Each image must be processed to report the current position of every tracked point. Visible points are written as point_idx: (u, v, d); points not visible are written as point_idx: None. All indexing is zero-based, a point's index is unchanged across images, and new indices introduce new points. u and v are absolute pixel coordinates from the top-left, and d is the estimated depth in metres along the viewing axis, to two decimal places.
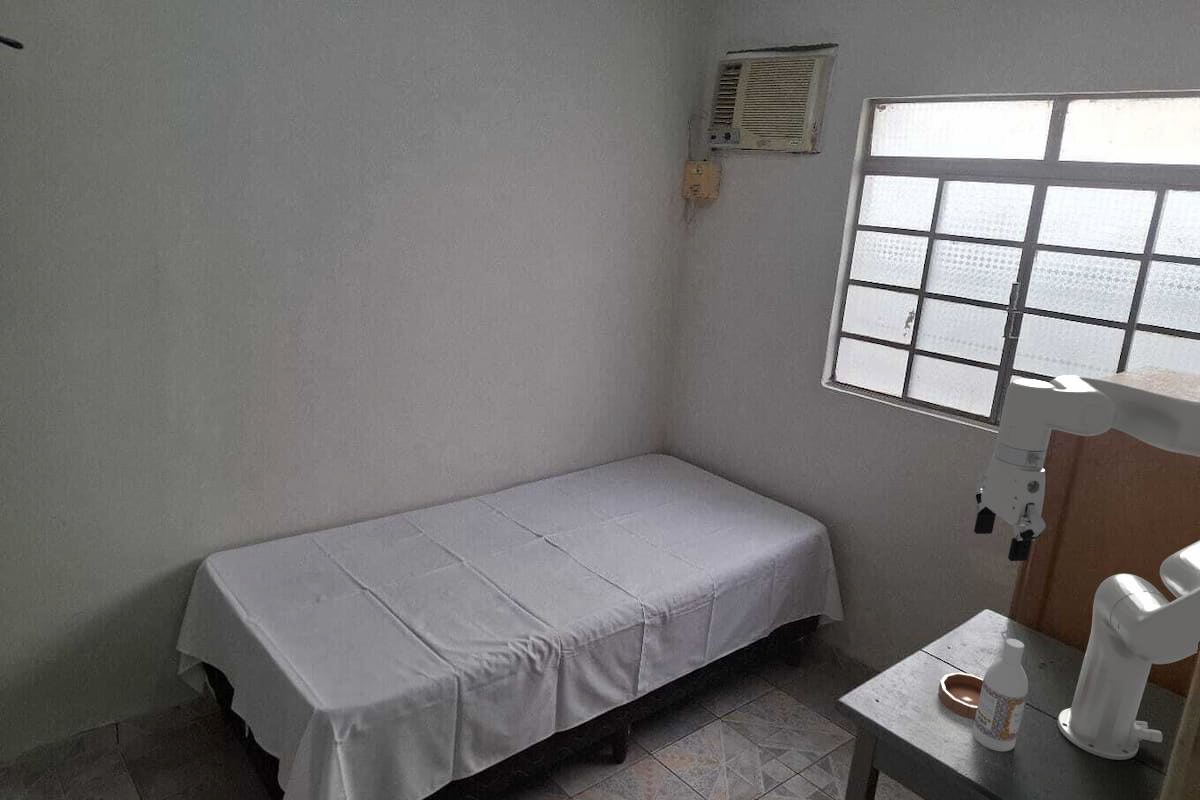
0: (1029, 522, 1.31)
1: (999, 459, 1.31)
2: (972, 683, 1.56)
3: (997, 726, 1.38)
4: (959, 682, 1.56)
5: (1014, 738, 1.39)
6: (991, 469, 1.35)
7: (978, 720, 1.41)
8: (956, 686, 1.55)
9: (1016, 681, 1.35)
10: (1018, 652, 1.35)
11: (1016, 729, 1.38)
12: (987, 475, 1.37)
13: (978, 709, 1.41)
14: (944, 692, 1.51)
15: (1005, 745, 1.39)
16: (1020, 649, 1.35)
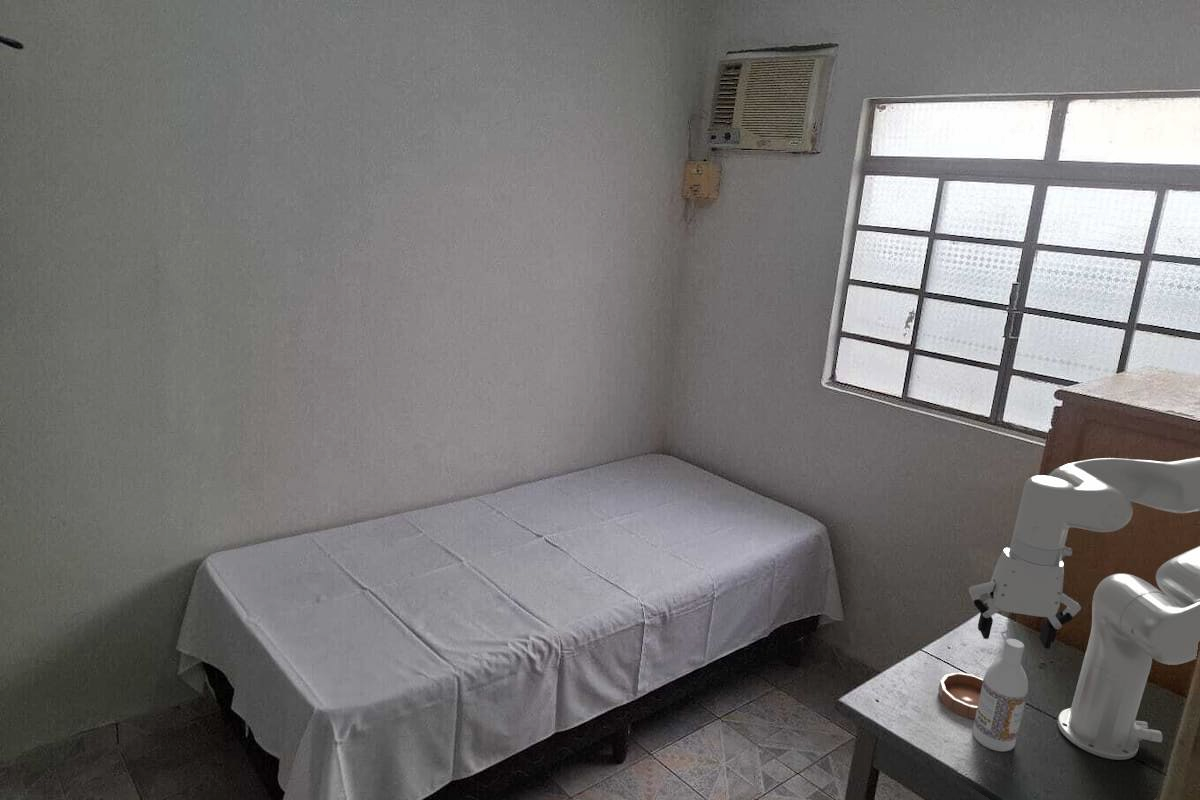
0: None
1: (1044, 565, 1.28)
2: (972, 683, 1.56)
3: (997, 726, 1.38)
4: (959, 682, 1.56)
5: (1014, 738, 1.39)
6: (1016, 574, 1.31)
7: (978, 720, 1.41)
8: (956, 686, 1.55)
9: (1016, 681, 1.35)
10: (1018, 652, 1.35)
11: (1016, 729, 1.38)
12: (1007, 582, 1.31)
13: (978, 709, 1.41)
14: (944, 692, 1.51)
15: (1005, 745, 1.39)
16: (1020, 649, 1.35)
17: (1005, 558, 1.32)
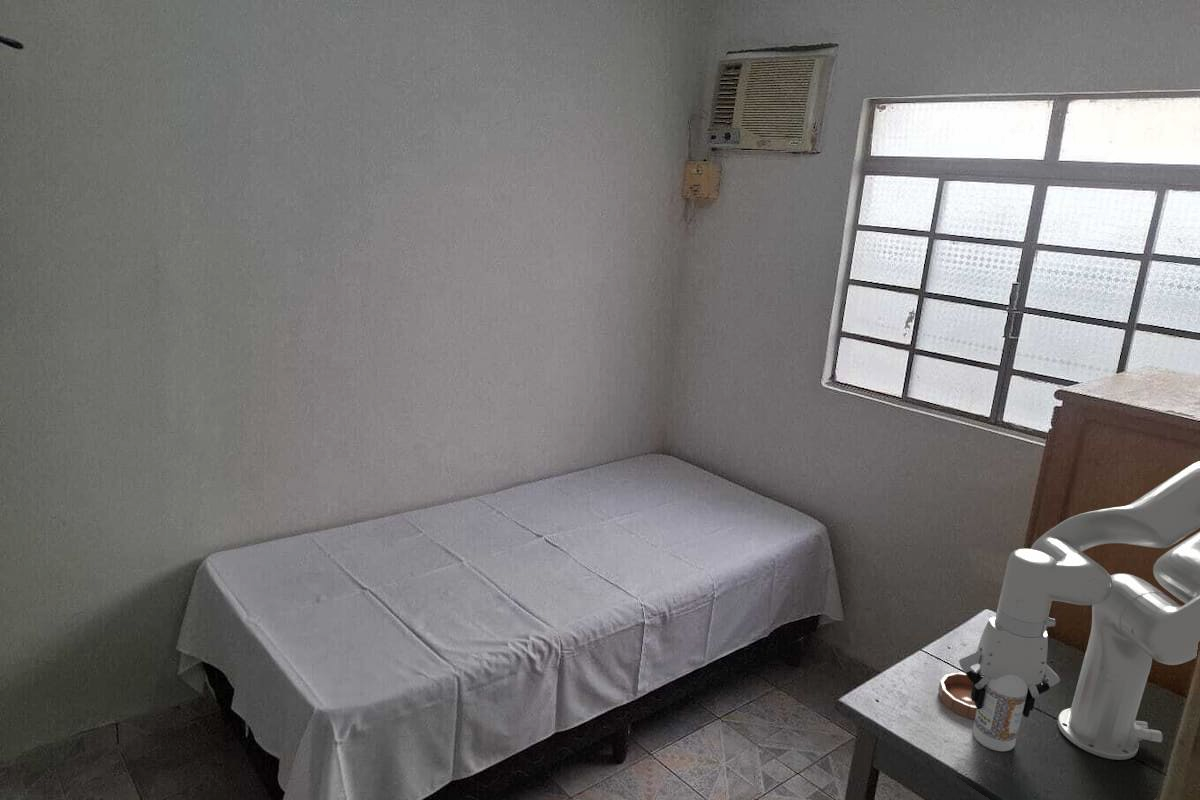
0: None
1: (1028, 637, 1.32)
2: (972, 683, 1.56)
3: (997, 726, 1.38)
4: (959, 682, 1.56)
5: (1014, 738, 1.39)
6: (1001, 645, 1.35)
7: (978, 720, 1.41)
8: (956, 686, 1.55)
9: (1016, 681, 1.35)
10: None
11: (1016, 729, 1.38)
12: (993, 651, 1.35)
13: (978, 709, 1.41)
14: (944, 692, 1.51)
15: (1005, 745, 1.39)
16: None
17: (991, 628, 1.36)
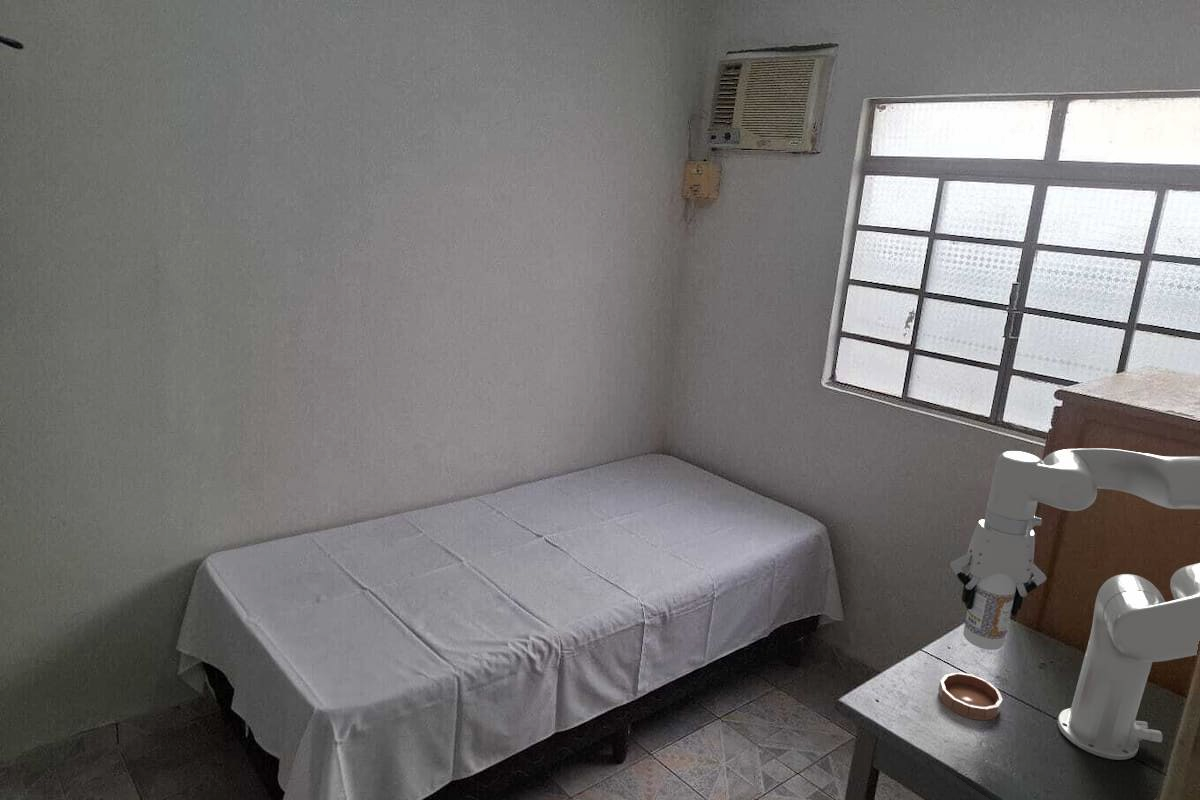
0: None
1: (1016, 534, 1.37)
2: (972, 683, 1.56)
3: (987, 625, 1.43)
4: (959, 682, 1.56)
5: (1003, 636, 1.44)
6: (990, 544, 1.40)
7: (968, 620, 1.46)
8: (956, 686, 1.55)
9: (1004, 579, 1.41)
10: None
11: (1005, 627, 1.44)
12: (983, 551, 1.41)
13: (968, 610, 1.46)
14: (944, 692, 1.51)
15: (994, 643, 1.44)
16: None
17: (980, 529, 1.41)
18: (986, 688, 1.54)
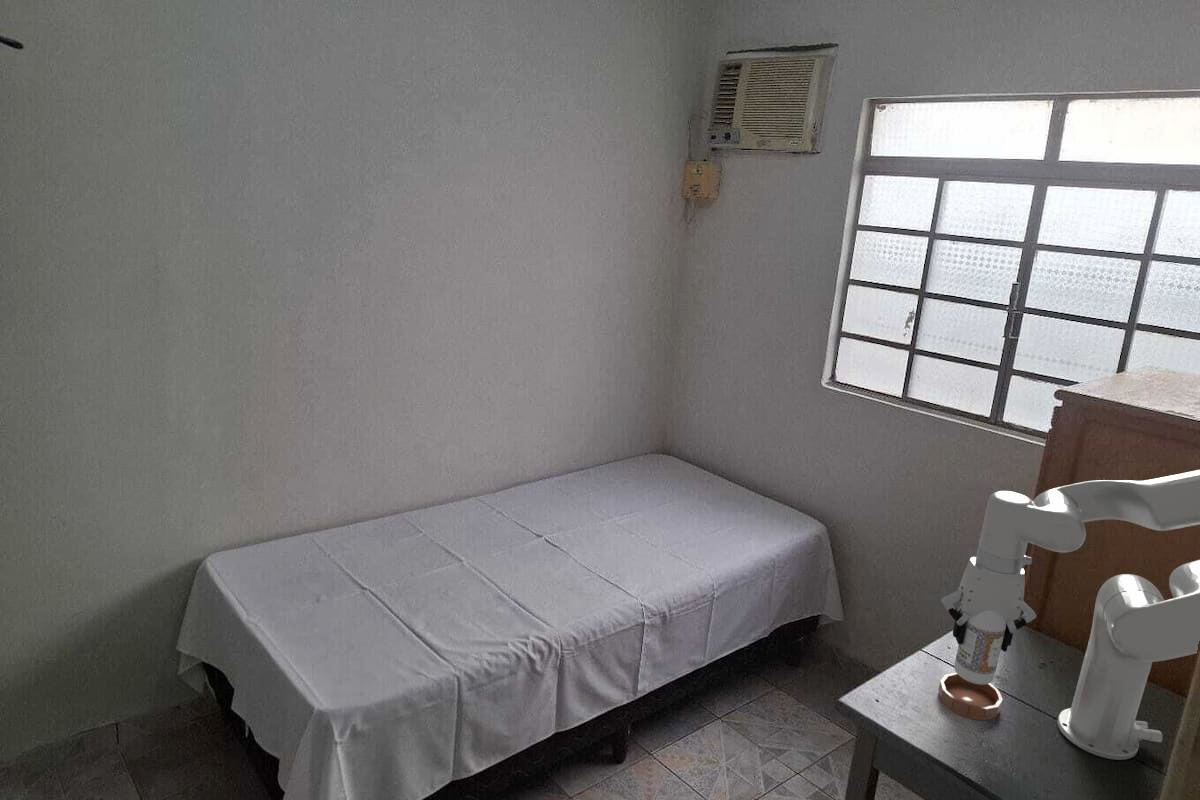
0: None
1: (1006, 573, 1.40)
2: (972, 683, 1.56)
3: (977, 660, 1.46)
4: (959, 682, 1.56)
5: (993, 672, 1.47)
6: (981, 582, 1.42)
7: (959, 655, 1.49)
8: (956, 686, 1.55)
9: (995, 616, 1.43)
10: None
11: (995, 663, 1.46)
12: (973, 588, 1.43)
13: (959, 645, 1.49)
14: (944, 692, 1.51)
15: (984, 678, 1.47)
16: None
17: (971, 567, 1.44)
18: (986, 688, 1.54)
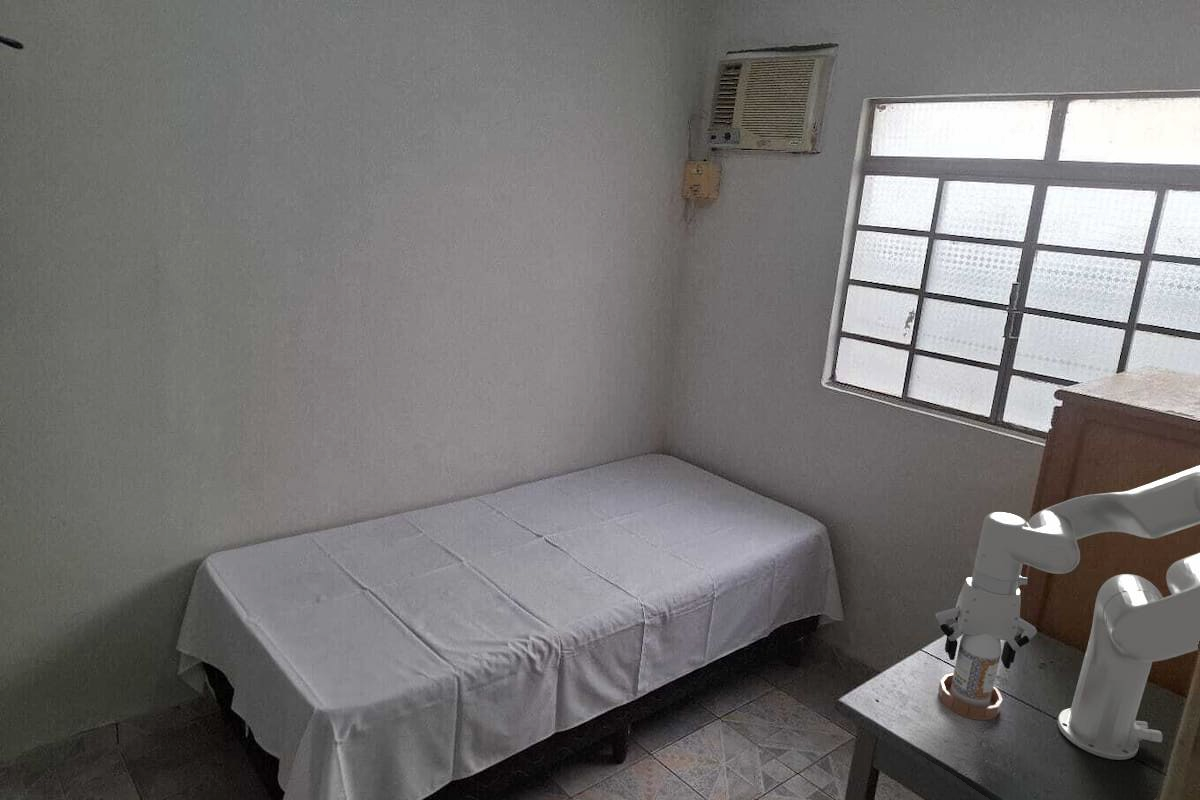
0: None
1: (1001, 594, 1.41)
2: None
3: (972, 686, 1.47)
4: None
5: (988, 697, 1.48)
6: (977, 602, 1.44)
7: (955, 680, 1.50)
8: None
9: (989, 643, 1.45)
10: None
11: (990, 689, 1.48)
12: (970, 609, 1.44)
13: (955, 670, 1.51)
14: (944, 692, 1.51)
15: (980, 703, 1.48)
16: None
17: (967, 587, 1.45)
18: None
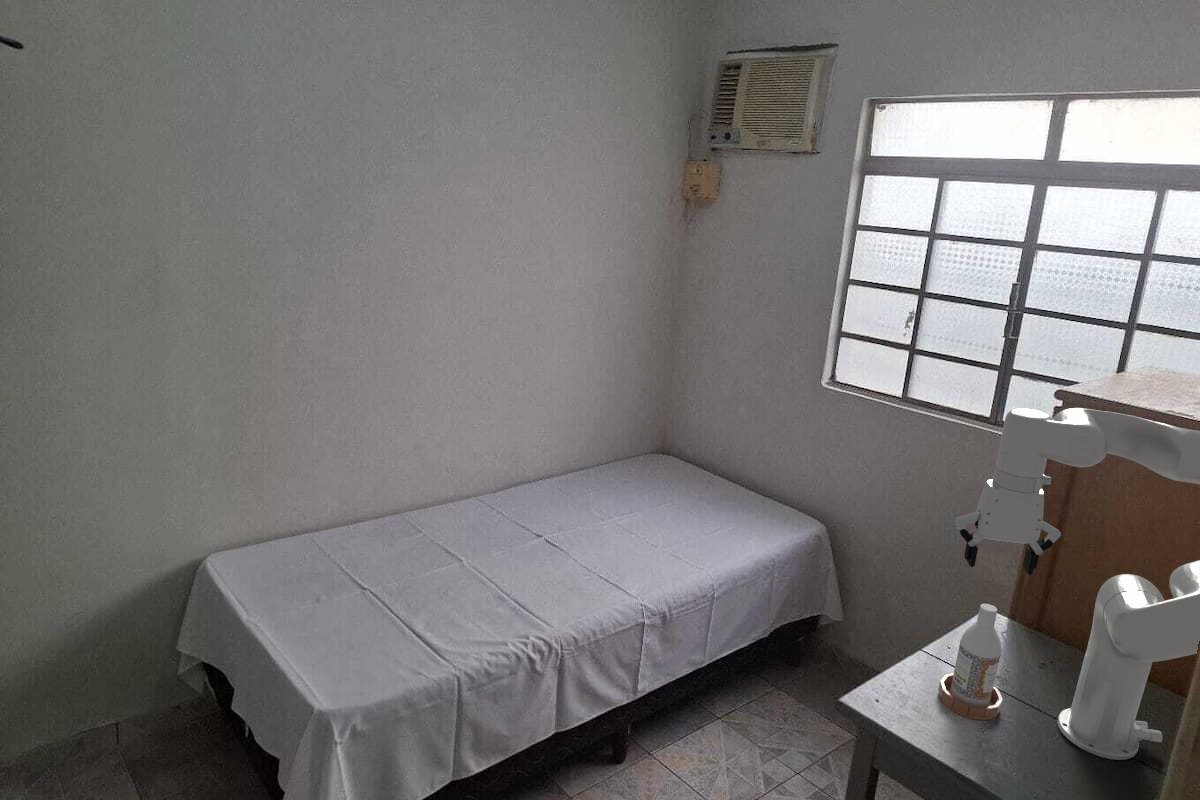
0: None
1: (1024, 492, 1.35)
2: None
3: (972, 686, 1.47)
4: None
5: (988, 697, 1.48)
6: (998, 503, 1.38)
7: (955, 680, 1.50)
8: None
9: (989, 643, 1.45)
10: (991, 615, 1.45)
11: (990, 688, 1.48)
12: (991, 510, 1.39)
13: (955, 670, 1.51)
14: (944, 692, 1.51)
15: (980, 703, 1.48)
16: (993, 613, 1.45)
17: (988, 488, 1.39)
18: None
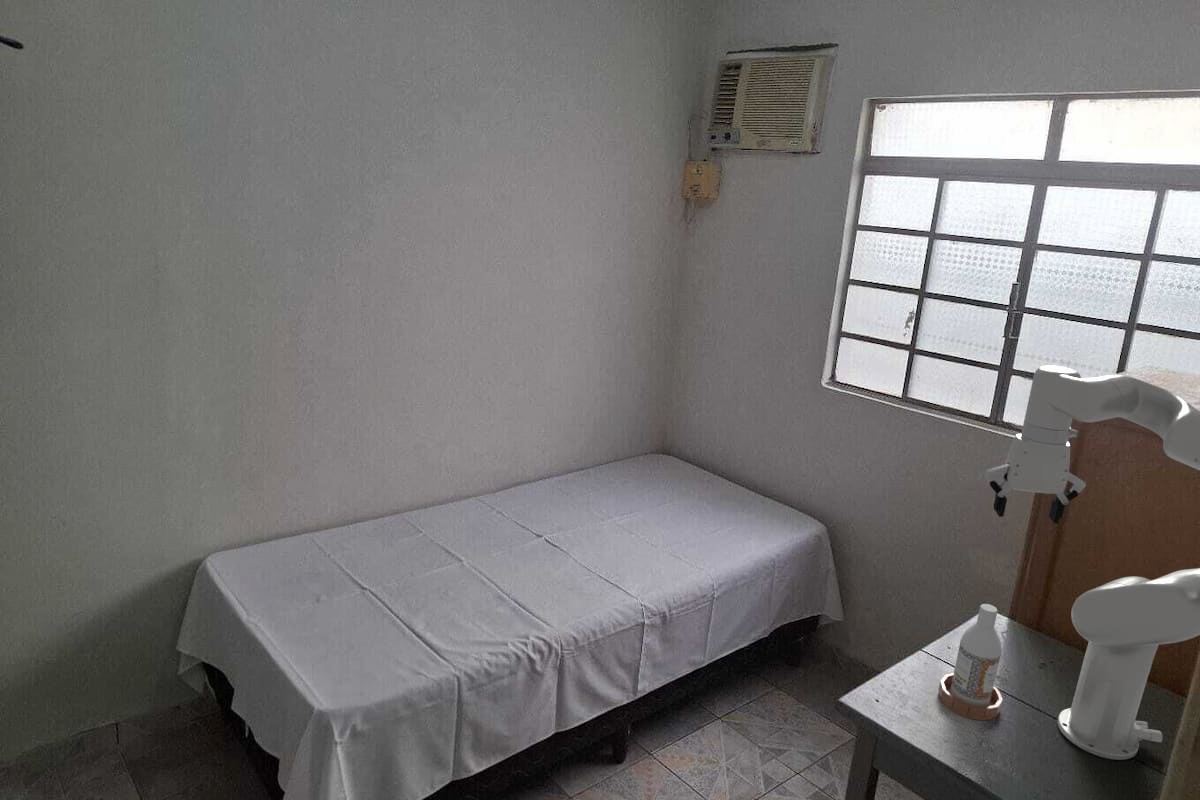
0: None
1: (1052, 444, 1.43)
2: None
3: (972, 686, 1.47)
4: None
5: (988, 697, 1.48)
6: (1027, 455, 1.46)
7: (955, 680, 1.50)
8: None
9: (989, 643, 1.45)
10: (991, 616, 1.45)
11: (990, 689, 1.48)
12: (1020, 462, 1.47)
13: (955, 670, 1.51)
14: (944, 692, 1.51)
15: (980, 703, 1.48)
16: (993, 613, 1.44)
17: (1017, 441, 1.47)
18: None
